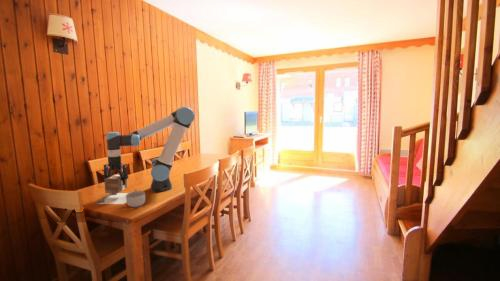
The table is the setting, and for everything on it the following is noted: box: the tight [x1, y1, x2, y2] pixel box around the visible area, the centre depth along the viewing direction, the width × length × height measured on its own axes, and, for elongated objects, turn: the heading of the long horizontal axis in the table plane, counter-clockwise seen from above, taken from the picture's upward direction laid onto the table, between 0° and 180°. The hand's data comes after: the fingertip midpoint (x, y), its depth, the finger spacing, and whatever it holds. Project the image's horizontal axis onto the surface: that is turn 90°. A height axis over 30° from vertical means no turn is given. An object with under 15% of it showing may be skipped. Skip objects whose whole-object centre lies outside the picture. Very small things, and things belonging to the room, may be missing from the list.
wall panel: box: [94, 192, 128, 205], centre depth 168 cm, size 18×20×2 cm
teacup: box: [126, 190, 146, 208], centre depth 157 cm, size 14×11×8 cm
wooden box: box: [103, 173, 128, 194], centre depth 167 cm, size 12×8×9 cm, turn 179°
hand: (116, 189), depth 167 cm, fingers closed on wooden box, 8 cm apart
